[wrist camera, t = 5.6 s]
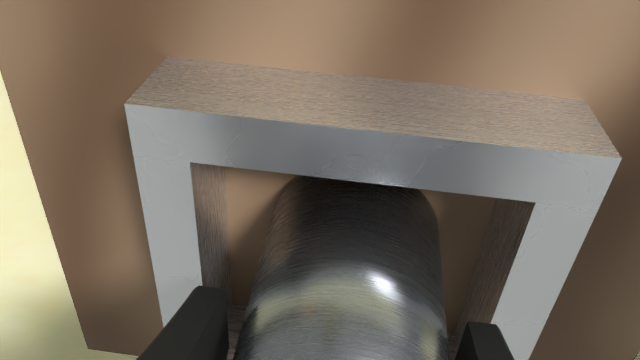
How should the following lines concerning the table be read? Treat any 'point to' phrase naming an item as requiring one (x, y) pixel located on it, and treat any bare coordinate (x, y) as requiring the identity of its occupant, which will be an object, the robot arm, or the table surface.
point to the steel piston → (347, 277)
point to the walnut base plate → (266, 187)
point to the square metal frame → (370, 172)
